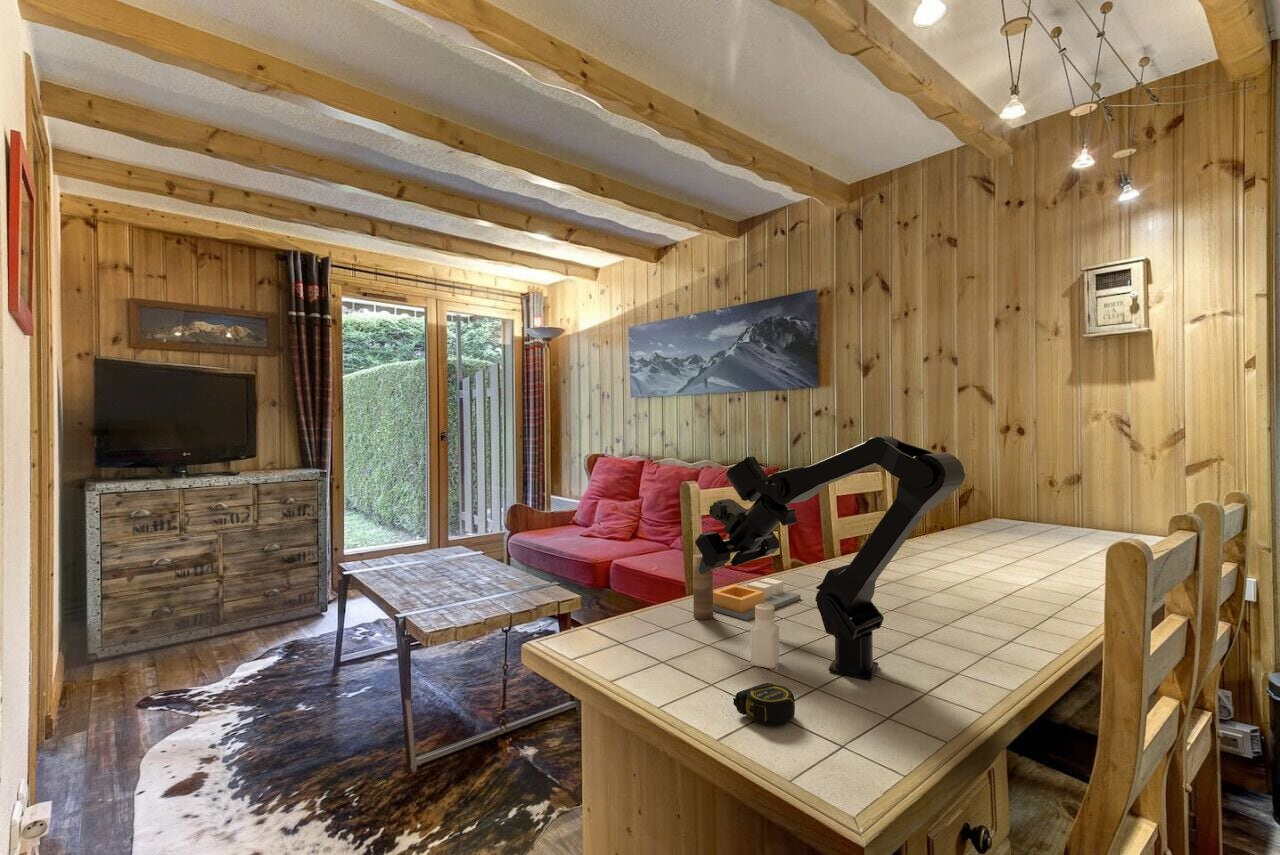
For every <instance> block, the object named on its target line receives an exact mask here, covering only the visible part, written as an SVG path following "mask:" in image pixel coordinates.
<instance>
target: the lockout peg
mask: <svg viewBox="0 0 1280 855" xmlns="http://www.w3.org/2000/svg"><path fill="white" fill-rule="evenodd" d="M701 559H702V553H696V554H695V553H694V554H693V555H692V586H693V587H692V590H693V591H692V593H693V597H692V598H693V618H694V619H696V620H700V621H707V620H708V621H709V620H712V619H714V611H713V591H714V582H713V581H714V574H713V573H714V570H712V571H710V572H707V573H704V574H700V572H699V566H700V563H701Z"/></svg>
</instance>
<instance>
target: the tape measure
mask: <svg viewBox="0 0 1280 855" xmlns="http://www.w3.org/2000/svg"><path fill="white" fill-rule="evenodd" d="M732 700H733V702H732V703H733V706H735V708H736V710H737V712H738V713H739V714H741V715H744V716H747V717H748V718H750V719H751V721H753V722H755V723H758V724H761V725H765V726H780V725H784V724H787V723H789V722H791V720H793V718H794V717H795V714H796V712H795V710H796V705H795V704H796V703H795V701H796V700H795V696H794V694H793V692H792V691H791V690H790V689H789V688H788V687H787V686H786V687H785V686H784V685H779V684H776V683H772V682H771V683H770V682H765V683H761V684H758V685H755V686H752V687H749V688H747V689H743V690H740V691H738V692H737V693H736V694H735V697H733V698H732Z"/></svg>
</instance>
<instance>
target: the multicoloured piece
mask: <svg viewBox="0 0 1280 855" xmlns="http://www.w3.org/2000/svg"><path fill="white" fill-rule="evenodd" d="M799 600H801V593H796V592H793V591H787V590H784V581H782V580H779V579H773V578H769V577H765V578H763V579H759V580H758V582H757V581H753V582H751V583H748V584H747V586H742V585H737V584H732V585H728V586H726V587H722V588H719V589H717V590H713V612H716V613H720V614H724V615H726V616H730V617H733V618H736V619H741V620H744V621H749V620H752V619H755V605H757V604H770V605H773V606H774V610H776V609H780V608H781V607H784V606H786V605H788V604H789V605H790V604H791V603H794V602H797V601H799Z"/></svg>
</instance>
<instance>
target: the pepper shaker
mask: <svg viewBox="0 0 1280 855" xmlns="http://www.w3.org/2000/svg"><path fill="white" fill-rule="evenodd" d="M775 618H776V617H775V609H774V606H773V605H770V604H757V605H755V618H754V620H755V622H754V623H753V624H752V625H751V628H750V662H751V665H752V666H756V667H761V668H762V667H763V668H766V669H775V667H776V665H778V662H779V660H780V626H779V625H777V624H775Z"/></svg>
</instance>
